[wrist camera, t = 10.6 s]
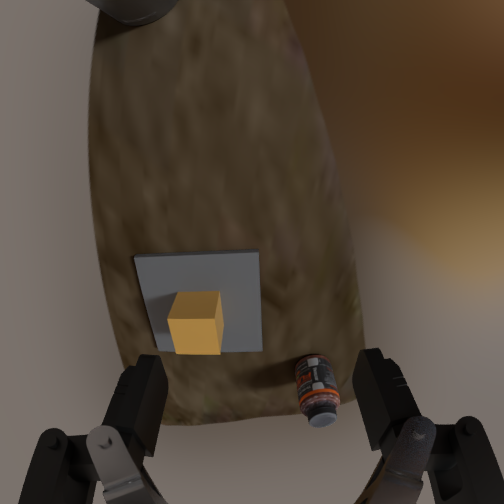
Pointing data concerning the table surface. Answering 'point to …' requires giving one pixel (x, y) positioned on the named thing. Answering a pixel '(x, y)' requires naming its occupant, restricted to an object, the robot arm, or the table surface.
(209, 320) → the mustard foam cube
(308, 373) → the supplement bottle
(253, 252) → the thin gray plate
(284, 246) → the table surface
